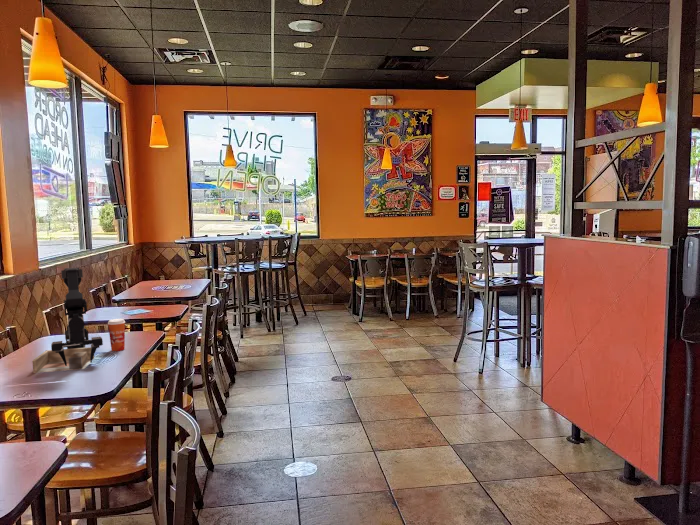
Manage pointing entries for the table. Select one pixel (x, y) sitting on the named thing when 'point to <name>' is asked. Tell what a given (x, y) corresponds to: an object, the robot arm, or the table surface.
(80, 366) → the walnut block
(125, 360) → the table surface
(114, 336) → the paper cup
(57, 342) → the robot arm
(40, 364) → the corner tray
